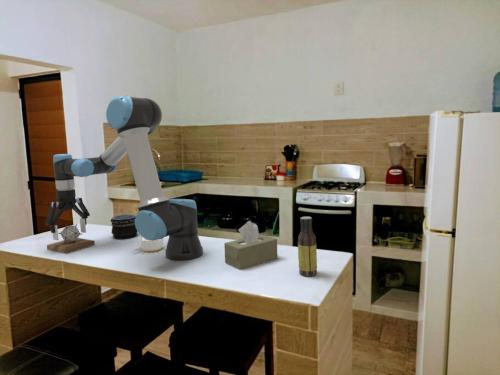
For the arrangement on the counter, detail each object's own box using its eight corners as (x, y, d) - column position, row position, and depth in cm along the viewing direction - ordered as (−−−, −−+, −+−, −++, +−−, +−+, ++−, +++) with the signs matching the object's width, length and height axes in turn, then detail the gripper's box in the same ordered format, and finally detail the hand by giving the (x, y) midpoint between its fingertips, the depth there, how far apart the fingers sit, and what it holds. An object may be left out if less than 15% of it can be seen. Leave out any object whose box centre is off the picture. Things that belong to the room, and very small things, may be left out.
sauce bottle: (314, 270, 132) (314, 215, 129) (318, 276, 126) (318, 219, 123) (296, 271, 132) (296, 215, 129) (300, 277, 126) (299, 219, 123)
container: (133, 239, 179) (132, 219, 177) (107, 240, 179) (105, 219, 178) (142, 232, 191) (141, 213, 190) (117, 233, 192) (116, 214, 190)
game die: (76, 249, 171) (89, 230, 172) (66, 247, 162) (80, 228, 164) (60, 239, 172) (73, 220, 174) (50, 237, 164) (64, 217, 165)
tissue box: (262, 253, 153) (261, 215, 151) (278, 258, 146) (277, 219, 144) (224, 263, 142) (222, 222, 140) (239, 270, 135) (237, 227, 132)
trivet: (94, 245, 171) (94, 240, 171) (66, 253, 159) (66, 248, 159) (75, 241, 178) (75, 236, 178) (47, 249, 166) (46, 244, 166)
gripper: (84, 185, 178) (88, 228, 181) (32, 192, 156) (38, 242, 159) (95, 185, 174) (99, 230, 177) (43, 193, 153) (48, 244, 155)
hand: (70, 236), depth 168 cm, fingers open, 13 cm apart
